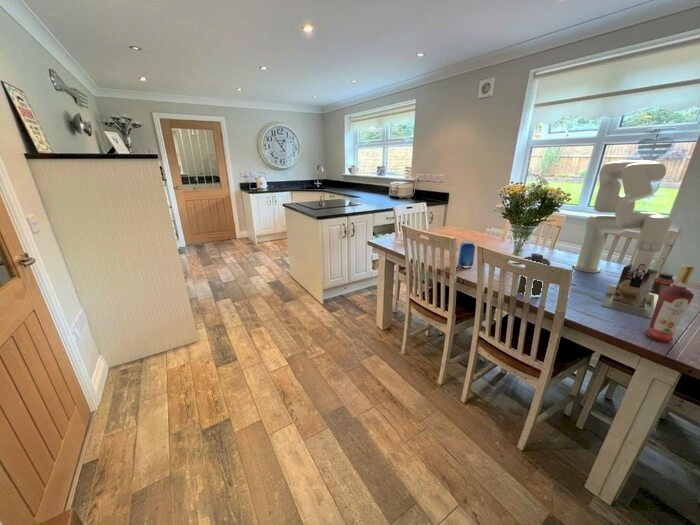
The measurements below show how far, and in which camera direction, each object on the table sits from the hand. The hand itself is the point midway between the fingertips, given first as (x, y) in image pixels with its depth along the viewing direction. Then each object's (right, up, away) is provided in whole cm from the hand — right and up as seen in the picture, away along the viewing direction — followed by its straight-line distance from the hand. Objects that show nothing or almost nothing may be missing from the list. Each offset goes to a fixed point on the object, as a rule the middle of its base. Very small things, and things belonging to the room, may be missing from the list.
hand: (634, 283), depth 120 cm
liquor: (-13, -19, -20) cm, 31 cm away
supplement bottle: (+19, -7, +8) cm, 22 cm away
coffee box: (+1, -9, +3) cm, 9 cm away
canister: (-36, -6, +15) cm, 40 cm away
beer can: (-53, +6, +51) cm, 74 cm away
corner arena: (-1, -10, +2) cm, 10 cm away
